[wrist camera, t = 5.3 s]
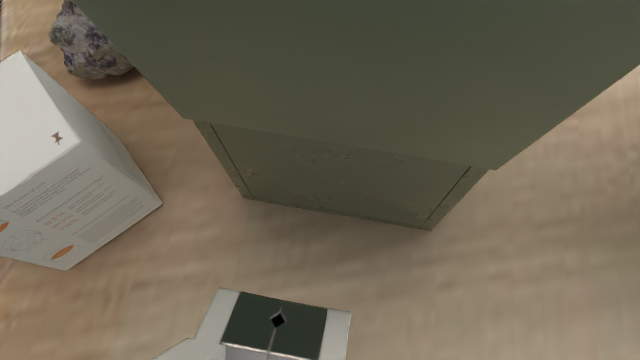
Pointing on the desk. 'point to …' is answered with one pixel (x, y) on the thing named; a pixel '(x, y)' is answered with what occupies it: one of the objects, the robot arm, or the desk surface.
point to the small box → (60, 173)
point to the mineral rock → (85, 45)
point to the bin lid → (380, 67)
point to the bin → (339, 176)
